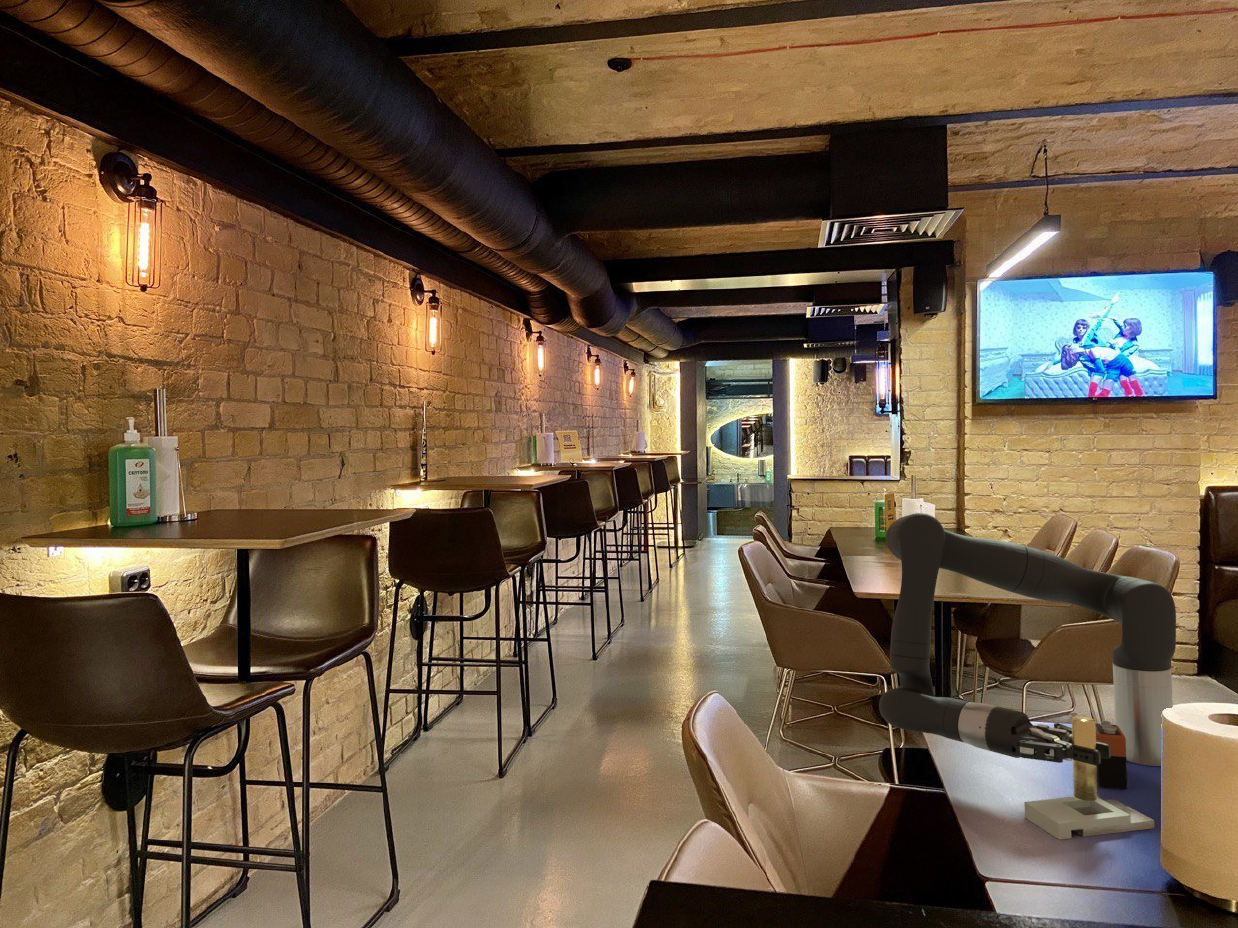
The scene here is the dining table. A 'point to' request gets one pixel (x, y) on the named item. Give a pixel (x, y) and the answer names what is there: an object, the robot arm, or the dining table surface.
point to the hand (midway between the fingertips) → (1104, 755)
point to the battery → (1112, 757)
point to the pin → (1083, 771)
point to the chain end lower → (1136, 823)
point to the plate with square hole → (1072, 815)
